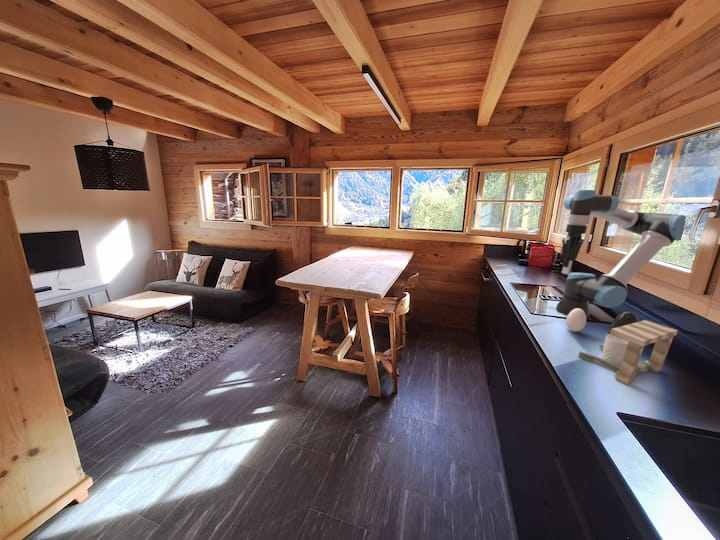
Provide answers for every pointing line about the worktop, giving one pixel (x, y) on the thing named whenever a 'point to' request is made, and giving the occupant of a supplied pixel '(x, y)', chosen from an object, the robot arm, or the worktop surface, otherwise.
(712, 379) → the worktop surface
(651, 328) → the wooden slatted bench
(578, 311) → the egg
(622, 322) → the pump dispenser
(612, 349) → the white cup
